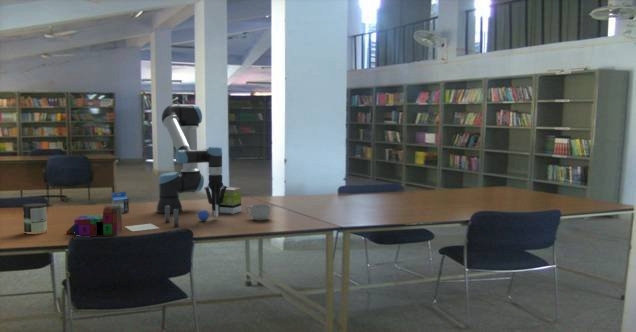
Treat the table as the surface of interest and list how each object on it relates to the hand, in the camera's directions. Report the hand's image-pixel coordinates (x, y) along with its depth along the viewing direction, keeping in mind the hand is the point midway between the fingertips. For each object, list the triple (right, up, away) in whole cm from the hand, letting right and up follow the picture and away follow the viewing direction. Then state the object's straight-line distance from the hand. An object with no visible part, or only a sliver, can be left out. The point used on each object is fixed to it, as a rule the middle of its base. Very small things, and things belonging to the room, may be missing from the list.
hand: (215, 216), depth 309 cm
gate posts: (-21, -3, -15) cm, 26 cm away
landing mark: (-34, -4, -24) cm, 42 cm away
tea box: (+2, 0, +24) cm, 24 cm away
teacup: (+24, -2, 0) cm, 24 cm away
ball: (-6, +1, -5) cm, 8 cm away
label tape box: (-61, 0, +20) cm, 64 cm away
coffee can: (-82, -5, -36) cm, 90 cm away
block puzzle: (-54, -5, -35) cm, 64 cm away
